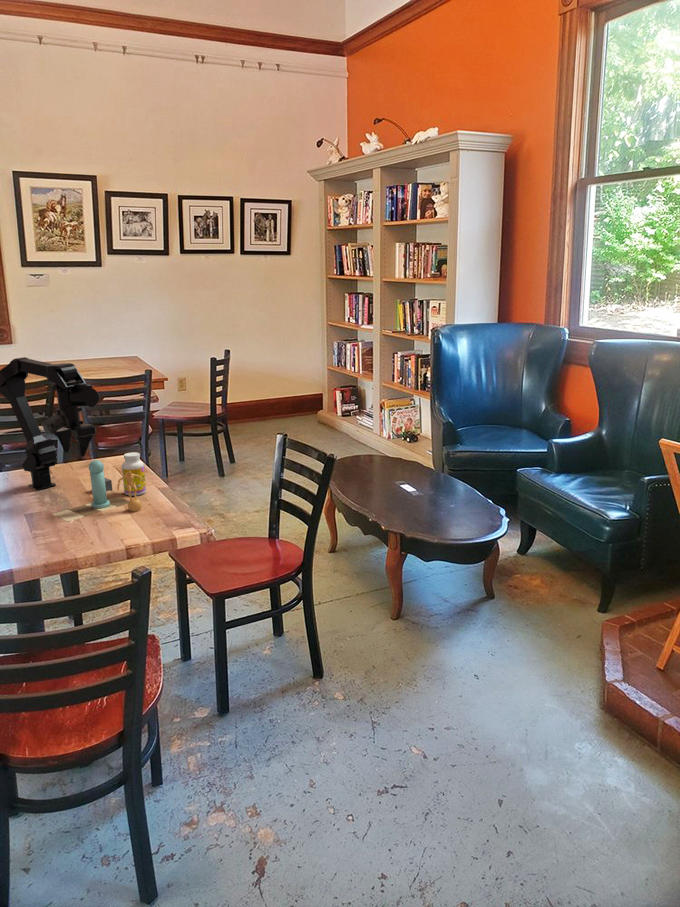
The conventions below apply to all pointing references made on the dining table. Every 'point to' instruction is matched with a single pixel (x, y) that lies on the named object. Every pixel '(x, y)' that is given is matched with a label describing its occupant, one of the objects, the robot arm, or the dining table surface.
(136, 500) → the figurine
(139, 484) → the supplement bottle
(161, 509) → the dining table surface
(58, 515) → the board
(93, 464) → the pawn
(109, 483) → the plain grey cube
